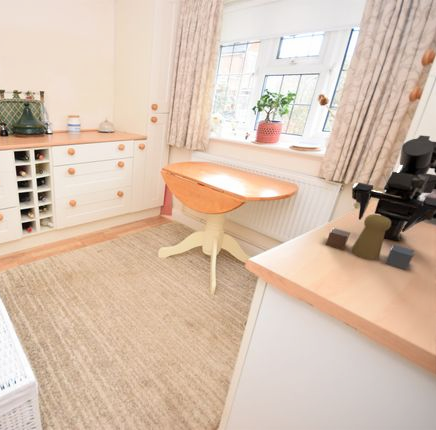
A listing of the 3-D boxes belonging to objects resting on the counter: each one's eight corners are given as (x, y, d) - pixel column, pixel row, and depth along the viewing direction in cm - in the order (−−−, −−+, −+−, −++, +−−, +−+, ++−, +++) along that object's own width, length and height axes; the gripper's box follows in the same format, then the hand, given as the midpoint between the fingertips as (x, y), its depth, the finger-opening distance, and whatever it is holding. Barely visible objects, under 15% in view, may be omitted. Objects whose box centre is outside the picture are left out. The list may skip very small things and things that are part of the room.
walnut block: (329, 240, 85) (333, 227, 84) (345, 245, 83) (350, 232, 81) (325, 244, 83) (330, 231, 81) (342, 249, 80) (347, 236, 79)
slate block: (386, 257, 77) (393, 244, 75) (407, 264, 74) (414, 250, 73) (385, 263, 74) (391, 249, 73) (406, 269, 72) (413, 255, 70)
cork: (370, 249, 81) (386, 213, 76) (384, 261, 75) (401, 222, 71) (346, 246, 82) (360, 210, 77) (357, 257, 76) (373, 219, 72)
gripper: (366, 154, 81) (338, 198, 79) (465, 168, 67) (434, 222, 66) (365, 177, 89) (340, 218, 87) (454, 194, 75) (426, 243, 73)
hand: (380, 224), depth 78 cm, fingers open, 9 cm apart
